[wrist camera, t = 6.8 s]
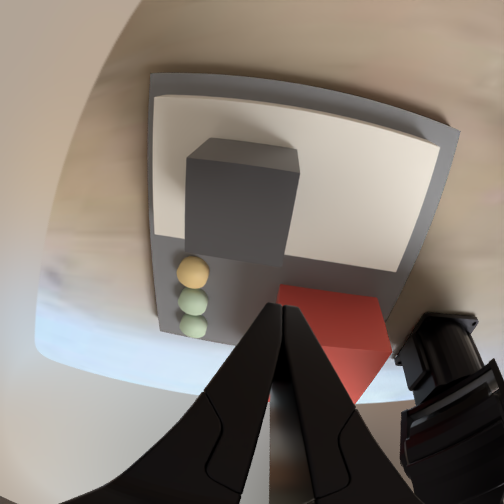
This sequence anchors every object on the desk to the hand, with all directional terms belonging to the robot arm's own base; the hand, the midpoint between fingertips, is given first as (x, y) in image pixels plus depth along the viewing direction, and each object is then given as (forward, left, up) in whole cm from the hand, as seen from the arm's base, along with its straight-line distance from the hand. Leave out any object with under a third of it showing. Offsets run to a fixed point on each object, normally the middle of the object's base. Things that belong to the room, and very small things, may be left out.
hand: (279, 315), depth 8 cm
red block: (-4, +10, -10) cm, 15 cm away
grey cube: (+2, -1, -8) cm, 8 cm away
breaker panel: (-1, +4, -11) cm, 12 cm away
